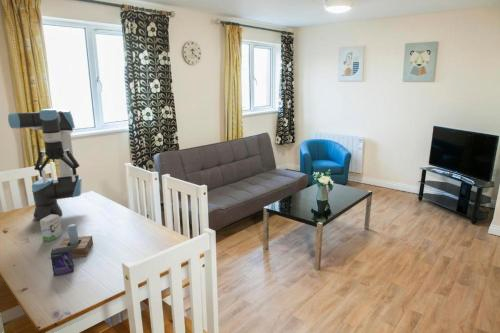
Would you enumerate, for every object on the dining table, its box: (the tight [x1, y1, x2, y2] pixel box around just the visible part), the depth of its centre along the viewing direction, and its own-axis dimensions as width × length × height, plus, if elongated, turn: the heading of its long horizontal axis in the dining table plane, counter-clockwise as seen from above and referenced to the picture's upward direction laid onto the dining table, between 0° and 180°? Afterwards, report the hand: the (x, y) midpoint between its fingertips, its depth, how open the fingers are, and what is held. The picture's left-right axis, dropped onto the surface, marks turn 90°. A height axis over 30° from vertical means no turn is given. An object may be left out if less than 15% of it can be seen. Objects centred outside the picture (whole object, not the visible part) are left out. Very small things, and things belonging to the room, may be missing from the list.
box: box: [50, 246, 75, 277], centre depth 152 cm, size 8×6×11 cm
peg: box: [66, 223, 79, 246], centre depth 168 cm, size 4×4×14 cm
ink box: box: [39, 214, 63, 242], centre depth 183 cm, size 9×5×12 cm, turn 168°
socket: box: [57, 235, 94, 260], centre depth 169 cm, size 13×13×5 cm
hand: (59, 182), depth 175 cm, fingers open, 13 cm apart
